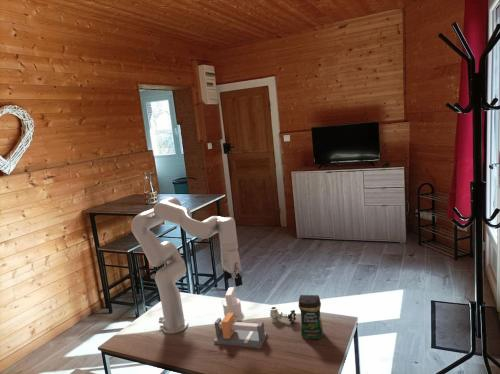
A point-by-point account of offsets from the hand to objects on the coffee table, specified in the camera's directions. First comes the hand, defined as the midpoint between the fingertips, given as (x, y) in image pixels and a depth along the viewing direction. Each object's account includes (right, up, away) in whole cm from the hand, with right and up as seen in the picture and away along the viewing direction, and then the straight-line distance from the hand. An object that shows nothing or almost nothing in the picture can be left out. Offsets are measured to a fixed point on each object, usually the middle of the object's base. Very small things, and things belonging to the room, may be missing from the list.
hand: (233, 282), depth 168 cm
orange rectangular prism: (-2, -24, +3) cm, 24 cm away
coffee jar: (+35, -23, -2) cm, 42 cm away
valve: (+23, -22, +12) cm, 34 cm away
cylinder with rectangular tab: (-2, -23, +27) cm, 35 cm away
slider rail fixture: (+3, -26, +2) cm, 26 cm away
